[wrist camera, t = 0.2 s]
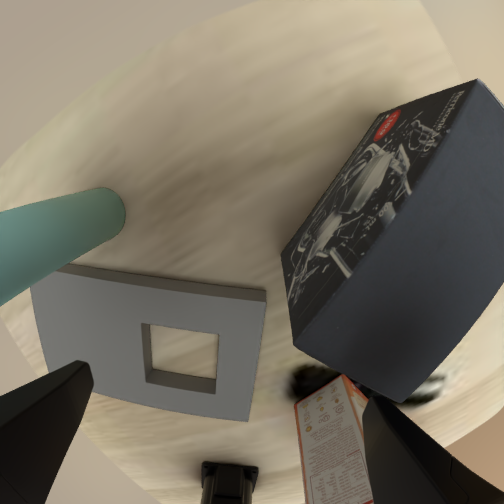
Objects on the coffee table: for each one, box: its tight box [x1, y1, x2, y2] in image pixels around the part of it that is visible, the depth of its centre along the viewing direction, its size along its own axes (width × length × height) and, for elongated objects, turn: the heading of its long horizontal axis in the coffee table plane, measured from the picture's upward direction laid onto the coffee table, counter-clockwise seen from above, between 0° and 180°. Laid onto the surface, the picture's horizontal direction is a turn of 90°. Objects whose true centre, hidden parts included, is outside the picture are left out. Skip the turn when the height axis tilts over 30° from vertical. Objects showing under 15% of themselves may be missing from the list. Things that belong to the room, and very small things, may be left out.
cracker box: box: [294, 374, 374, 504], centre depth 17 cm, size 14×6×21 cm, turn 41°
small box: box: [281, 79, 504, 403], centre depth 15 cm, size 13×7×12 cm, turn 146°
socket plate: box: [30, 264, 267, 422], centre depth 24 cm, size 12×20×2 cm, turn 84°
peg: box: [0, 188, 125, 306], centre depth 15 cm, size 4×4×14 cm
